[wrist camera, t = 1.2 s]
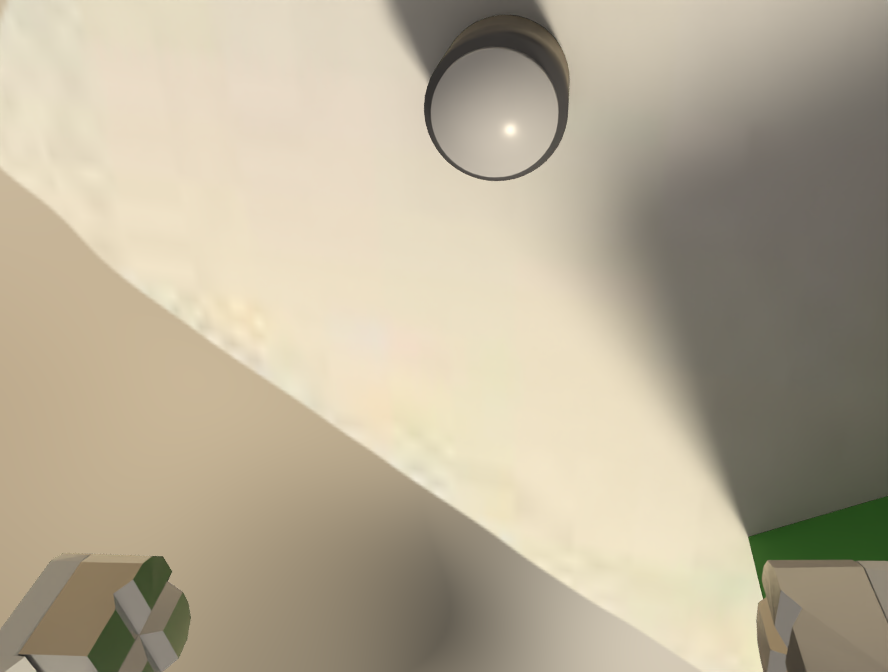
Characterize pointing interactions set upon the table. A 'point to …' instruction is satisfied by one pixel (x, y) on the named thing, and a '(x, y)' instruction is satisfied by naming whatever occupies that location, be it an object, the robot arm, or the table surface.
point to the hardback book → (827, 537)
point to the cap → (499, 99)
